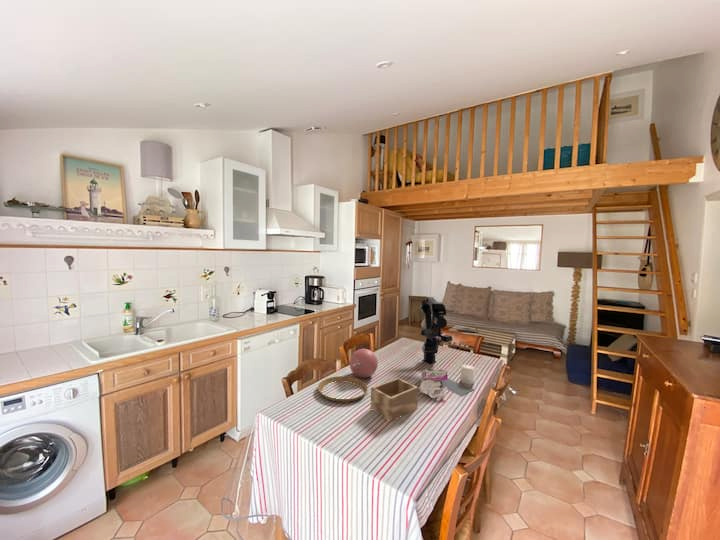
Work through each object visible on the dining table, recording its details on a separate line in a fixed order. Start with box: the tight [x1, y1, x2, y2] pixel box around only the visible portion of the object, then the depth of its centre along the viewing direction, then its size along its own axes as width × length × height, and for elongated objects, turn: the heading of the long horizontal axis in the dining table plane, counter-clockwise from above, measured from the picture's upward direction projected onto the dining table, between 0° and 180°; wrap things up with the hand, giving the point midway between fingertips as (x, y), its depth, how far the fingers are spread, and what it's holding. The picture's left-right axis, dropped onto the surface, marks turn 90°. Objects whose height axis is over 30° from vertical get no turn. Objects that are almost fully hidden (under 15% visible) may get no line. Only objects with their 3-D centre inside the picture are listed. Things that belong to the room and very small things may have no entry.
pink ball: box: [349, 348, 379, 379], centre depth 162 cm, size 15×20×15 cm
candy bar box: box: [421, 369, 449, 382], centre depth 155 cm, size 11×5×16 cm
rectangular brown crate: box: [370, 377, 419, 422], centre depth 131 cm, size 12×17×10 cm
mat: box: [436, 378, 475, 397], centre depth 154 cm, size 17×16×1 cm
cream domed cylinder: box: [459, 364, 476, 385], centre depth 162 cm, size 7×7×8 cm
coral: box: [418, 379, 448, 402], centre depth 145 cm, size 12×7×12 cm
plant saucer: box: [317, 375, 368, 403], centre depth 146 cm, size 24×24×3 cm
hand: (435, 349), depth 176 cm, fingers closed
